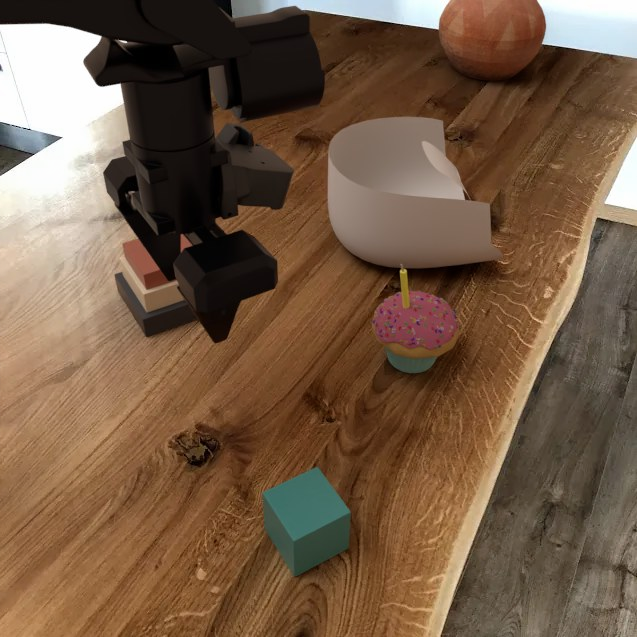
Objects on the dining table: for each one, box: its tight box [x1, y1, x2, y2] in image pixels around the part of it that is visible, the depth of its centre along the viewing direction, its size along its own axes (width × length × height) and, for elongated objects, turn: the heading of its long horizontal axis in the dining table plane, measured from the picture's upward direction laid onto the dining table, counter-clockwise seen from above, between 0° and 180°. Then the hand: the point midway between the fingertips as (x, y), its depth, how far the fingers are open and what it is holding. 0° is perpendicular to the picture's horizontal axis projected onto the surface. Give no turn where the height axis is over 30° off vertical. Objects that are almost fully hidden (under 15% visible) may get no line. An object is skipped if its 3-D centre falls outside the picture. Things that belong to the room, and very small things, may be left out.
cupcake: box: [371, 264, 460, 374], centre depth 71 cm, size 9×8×12 cm
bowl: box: [327, 116, 504, 269], centre depth 88 cm, size 20×19×12 cm
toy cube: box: [262, 466, 352, 578], centre depth 57 cm, size 5×5×5 cm
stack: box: [114, 234, 198, 338], centre depth 80 cm, size 9×9×7 cm
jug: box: [438, 0, 547, 82], centre depth 127 cm, size 18×18×20 cm
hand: (195, 308), depth 60 cm, fingers open, 9 cm apart
